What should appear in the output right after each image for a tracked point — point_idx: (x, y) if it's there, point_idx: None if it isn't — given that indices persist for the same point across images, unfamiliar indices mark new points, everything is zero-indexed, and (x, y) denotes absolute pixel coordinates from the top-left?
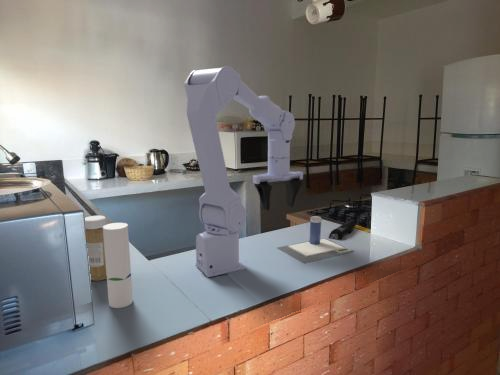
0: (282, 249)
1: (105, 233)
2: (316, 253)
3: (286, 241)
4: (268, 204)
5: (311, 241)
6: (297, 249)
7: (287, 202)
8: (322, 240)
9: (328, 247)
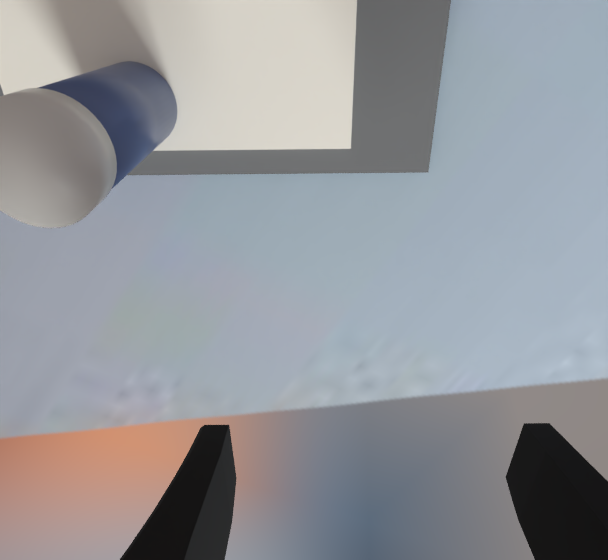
0: (416, 122)
1: None
2: None
3: (280, 258)
4: (579, 474)
5: (168, 100)
6: (338, 44)
7: (230, 504)
8: None
9: None
